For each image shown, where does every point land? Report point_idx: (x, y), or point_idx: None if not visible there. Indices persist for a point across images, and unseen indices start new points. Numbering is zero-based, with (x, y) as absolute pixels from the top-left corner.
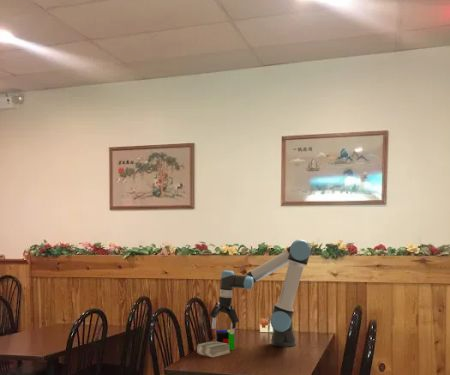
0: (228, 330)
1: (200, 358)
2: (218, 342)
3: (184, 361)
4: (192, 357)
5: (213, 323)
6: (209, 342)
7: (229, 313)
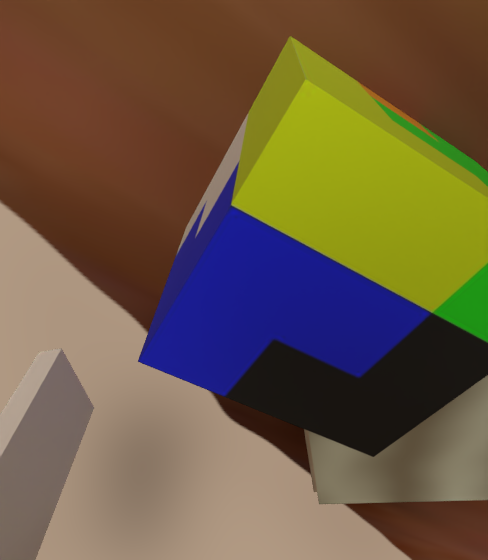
0: (321, 228)
1: None
2: None
3: (414, 534)
4: None
5: (52, 483)
6: None
7: None
